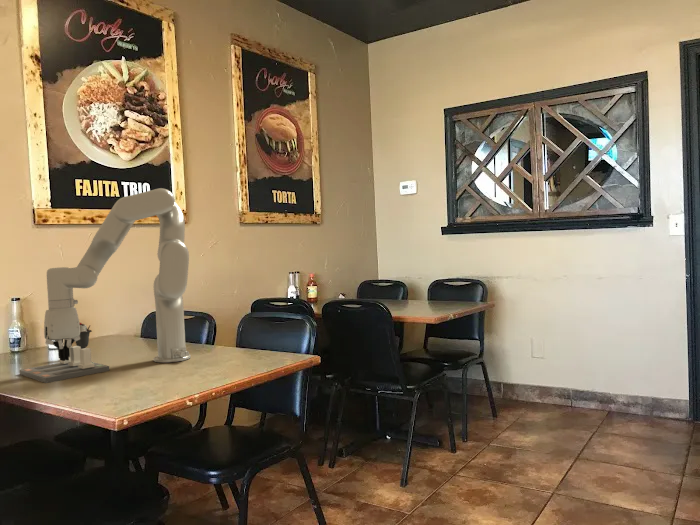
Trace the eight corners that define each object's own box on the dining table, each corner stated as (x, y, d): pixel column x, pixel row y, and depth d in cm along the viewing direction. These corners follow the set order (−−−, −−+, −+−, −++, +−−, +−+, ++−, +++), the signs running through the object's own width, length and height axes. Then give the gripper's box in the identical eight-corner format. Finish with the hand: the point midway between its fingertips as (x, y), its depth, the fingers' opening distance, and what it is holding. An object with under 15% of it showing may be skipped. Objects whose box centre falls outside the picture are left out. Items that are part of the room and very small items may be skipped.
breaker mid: (84, 364, 196) (83, 346, 196) (73, 366, 194) (72, 348, 193) (79, 363, 199) (78, 345, 199) (68, 364, 196) (67, 347, 196)
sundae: (69, 359, 217) (66, 319, 217) (84, 355, 223) (82, 316, 223) (81, 360, 214) (78, 319, 214) (96, 356, 220) (94, 317, 220)
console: (109, 370, 193) (109, 365, 193) (45, 383, 179) (45, 377, 179) (80, 363, 208) (80, 358, 208) (19, 374, 193) (19, 369, 193)
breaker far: (75, 361, 201) (74, 344, 201) (64, 363, 199) (63, 346, 198) (70, 360, 204) (69, 343, 204) (59, 362, 201) (58, 345, 201)
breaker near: (94, 366, 191) (93, 348, 191) (83, 368, 189) (82, 350, 188) (89, 365, 194) (88, 347, 194) (78, 367, 191) (77, 349, 191)
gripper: (79, 302, 201) (82, 355, 201) (32, 306, 190) (35, 363, 190) (88, 302, 196) (91, 357, 196) (41, 307, 185) (44, 365, 185)
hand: (64, 360), depth 193 cm, fingers closed
